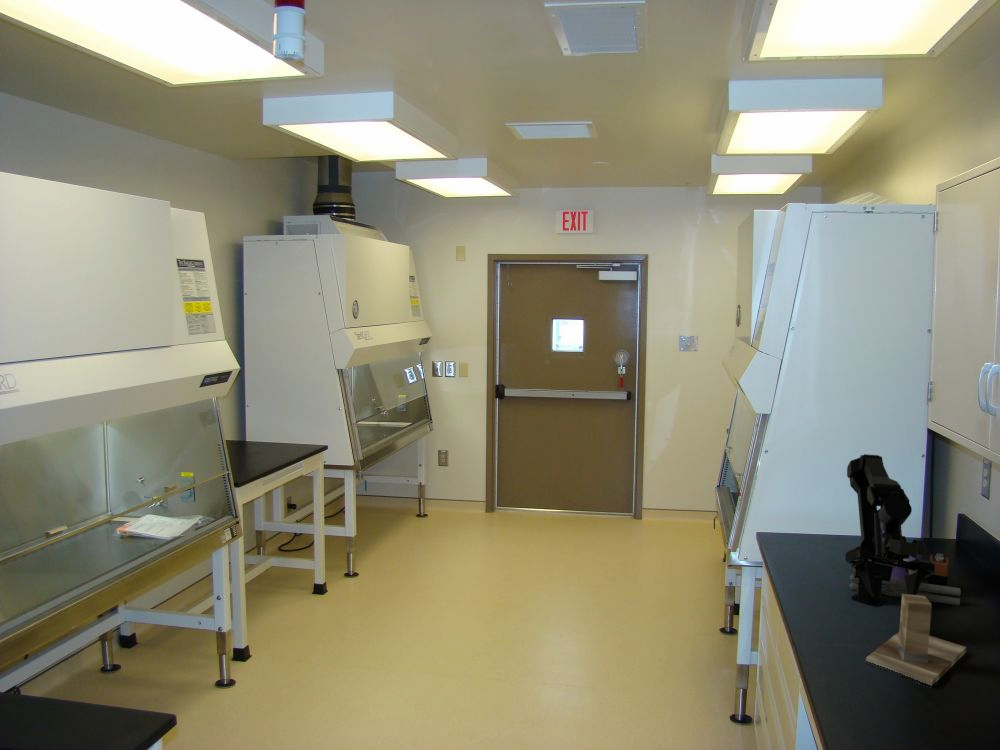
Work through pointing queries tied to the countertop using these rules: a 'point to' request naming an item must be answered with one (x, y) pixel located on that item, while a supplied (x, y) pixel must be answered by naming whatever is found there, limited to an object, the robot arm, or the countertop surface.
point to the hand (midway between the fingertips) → (892, 599)
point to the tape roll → (900, 571)
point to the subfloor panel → (929, 673)
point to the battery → (939, 571)
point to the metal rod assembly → (892, 591)
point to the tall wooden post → (914, 628)
